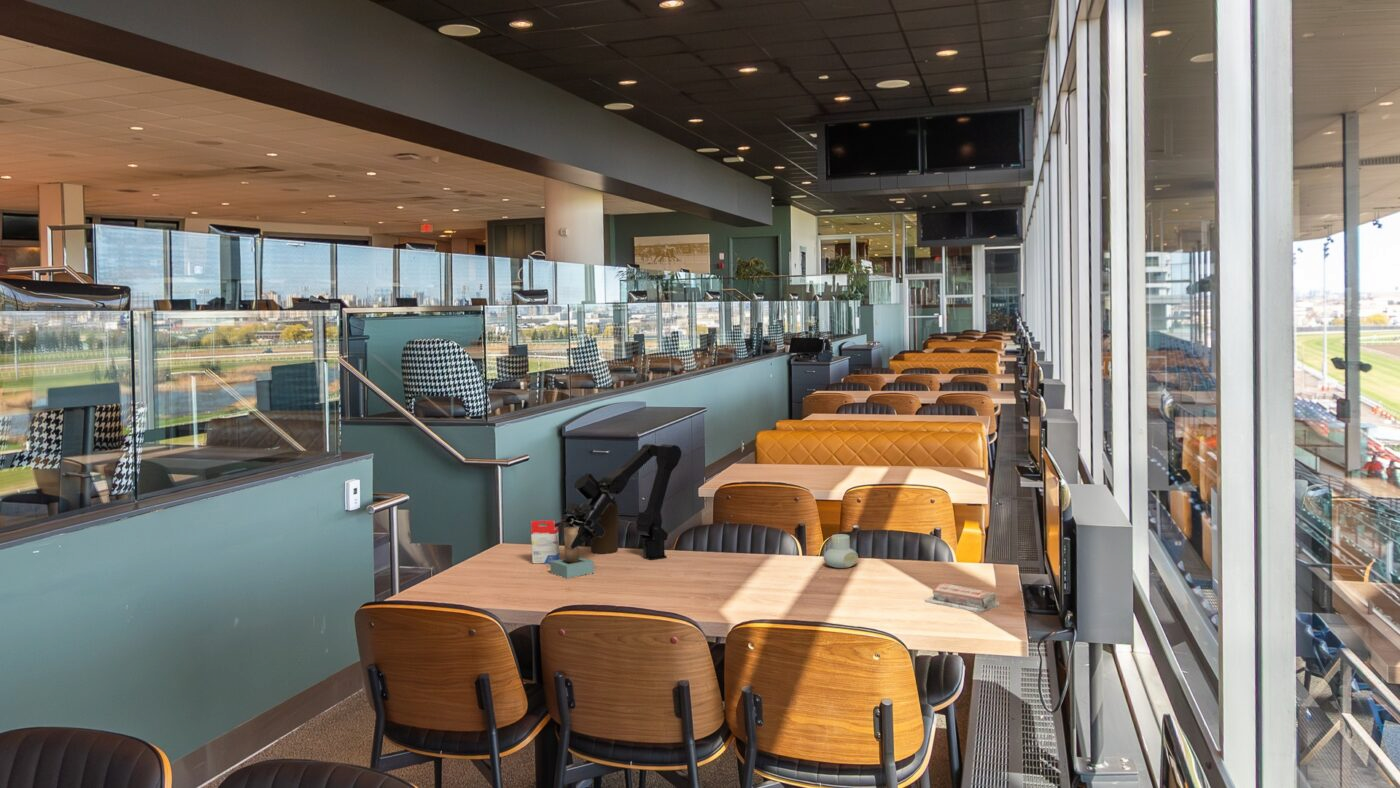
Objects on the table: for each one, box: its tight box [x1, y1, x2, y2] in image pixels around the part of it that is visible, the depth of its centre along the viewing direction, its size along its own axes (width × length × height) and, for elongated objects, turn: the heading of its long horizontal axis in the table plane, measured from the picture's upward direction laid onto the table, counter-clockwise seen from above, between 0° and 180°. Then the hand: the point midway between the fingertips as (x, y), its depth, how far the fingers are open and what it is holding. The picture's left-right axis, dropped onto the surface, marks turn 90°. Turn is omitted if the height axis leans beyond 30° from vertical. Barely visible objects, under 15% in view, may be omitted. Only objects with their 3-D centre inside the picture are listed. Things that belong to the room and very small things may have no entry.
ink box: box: [530, 520, 561, 564], centre depth 360 cm, size 8×5×15 cm, turn 84°
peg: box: [563, 526, 580, 564], centre depth 342 cm, size 4×4×12 cm
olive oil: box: [589, 489, 619, 555], centre depth 375 cm, size 11×11×25 cm
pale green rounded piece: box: [823, 533, 859, 569], centre depth 342 cm, size 11×8×10 cm
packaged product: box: [924, 582, 1000, 614], centre depth 293 cm, size 18×5×10 cm
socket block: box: [550, 556, 595, 579], centre depth 343 cm, size 10×10×4 cm
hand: (567, 546), depth 341 cm, fingers closed on peg, 4 cm apart
